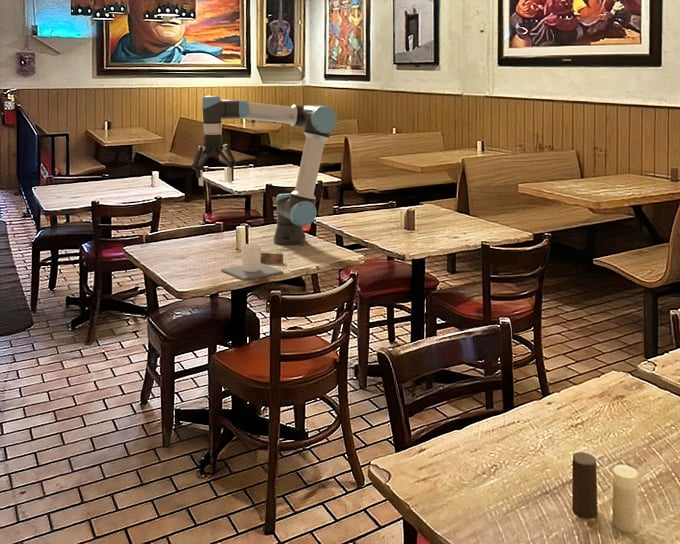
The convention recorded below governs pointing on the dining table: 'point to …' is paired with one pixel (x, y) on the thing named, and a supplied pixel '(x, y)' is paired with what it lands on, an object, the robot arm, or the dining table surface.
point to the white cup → (251, 257)
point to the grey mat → (244, 275)
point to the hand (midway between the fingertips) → (215, 184)
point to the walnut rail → (272, 257)
